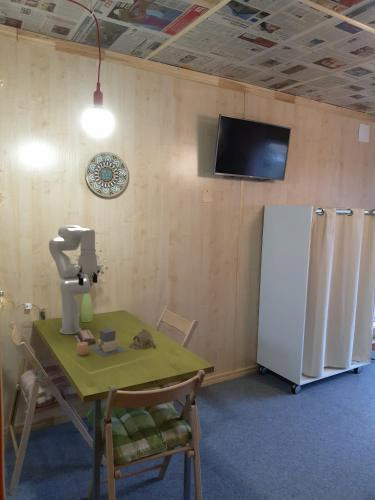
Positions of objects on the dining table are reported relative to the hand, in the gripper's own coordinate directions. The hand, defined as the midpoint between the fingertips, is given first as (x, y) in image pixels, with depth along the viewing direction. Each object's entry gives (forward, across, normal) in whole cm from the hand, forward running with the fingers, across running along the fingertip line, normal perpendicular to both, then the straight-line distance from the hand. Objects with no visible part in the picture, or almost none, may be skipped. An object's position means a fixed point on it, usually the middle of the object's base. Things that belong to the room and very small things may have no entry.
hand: (88, 284), depth 202 cm
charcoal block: (+28, -1, +13) cm, 31 cm away
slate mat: (+34, -1, +13) cm, 37 cm away
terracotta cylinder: (+34, +11, +7) cm, 37 cm away
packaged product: (+34, -4, -6) cm, 35 cm away
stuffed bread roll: (+35, -17, +24) cm, 45 cm away
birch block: (+33, -1, +13) cm, 36 cm away
